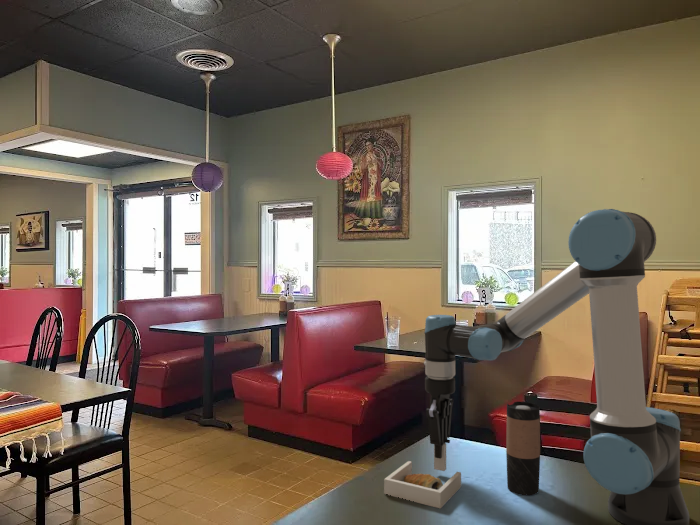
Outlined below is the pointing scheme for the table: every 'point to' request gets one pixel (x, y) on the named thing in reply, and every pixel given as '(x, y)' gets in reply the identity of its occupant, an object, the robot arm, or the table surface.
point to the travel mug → (523, 448)
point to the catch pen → (420, 488)
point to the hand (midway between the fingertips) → (440, 469)
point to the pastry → (424, 480)
